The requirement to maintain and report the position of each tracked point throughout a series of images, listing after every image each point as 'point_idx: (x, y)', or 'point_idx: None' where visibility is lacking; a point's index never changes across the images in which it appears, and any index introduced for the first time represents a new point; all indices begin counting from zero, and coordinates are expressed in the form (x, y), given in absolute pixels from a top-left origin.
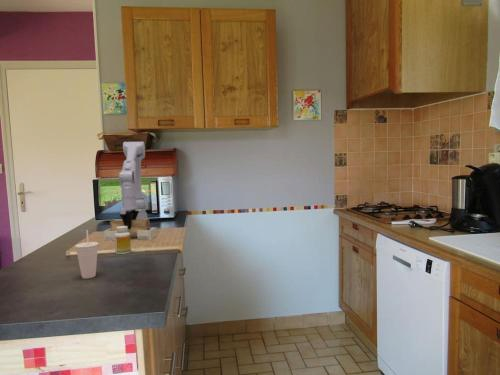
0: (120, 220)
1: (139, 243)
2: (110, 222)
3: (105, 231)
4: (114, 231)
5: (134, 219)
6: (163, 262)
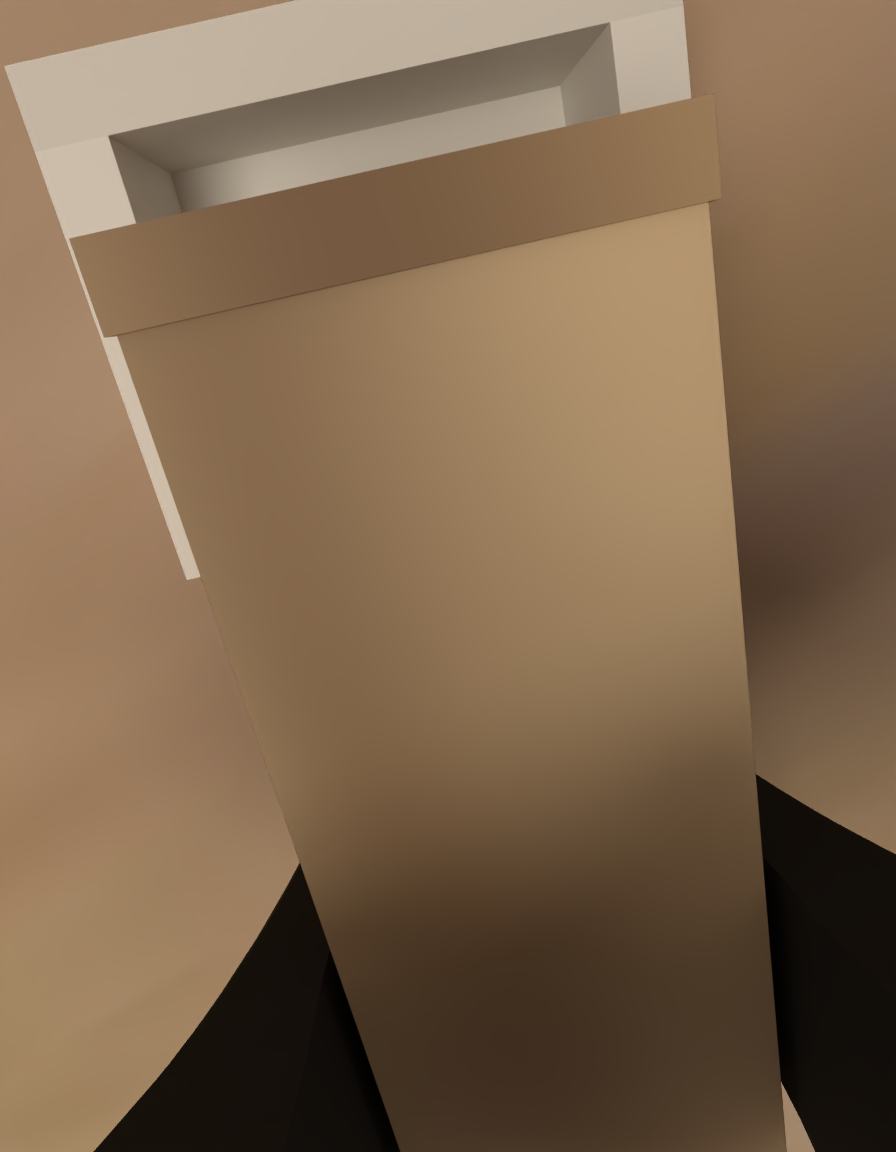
0: (484, 695)
1: (130, 1057)
2: (106, 269)
3: (33, 143)
4: (160, 496)
5: (795, 1092)
6: None
